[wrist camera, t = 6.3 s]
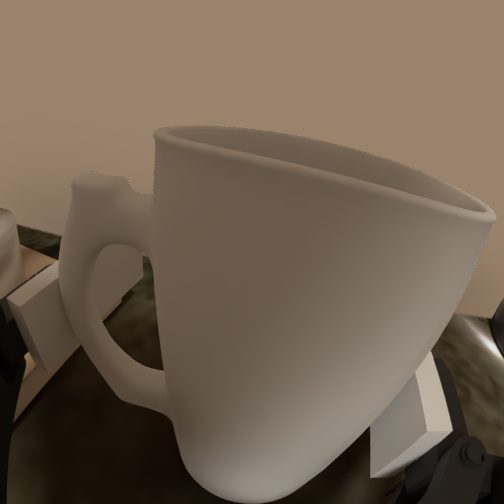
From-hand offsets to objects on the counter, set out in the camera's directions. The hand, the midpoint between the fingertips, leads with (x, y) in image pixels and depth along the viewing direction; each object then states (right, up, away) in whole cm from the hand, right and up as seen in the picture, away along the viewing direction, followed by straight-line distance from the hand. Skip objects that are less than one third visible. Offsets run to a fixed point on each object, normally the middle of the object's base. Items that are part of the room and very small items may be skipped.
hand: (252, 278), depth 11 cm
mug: (-2, -7, 0) cm, 8 cm away
